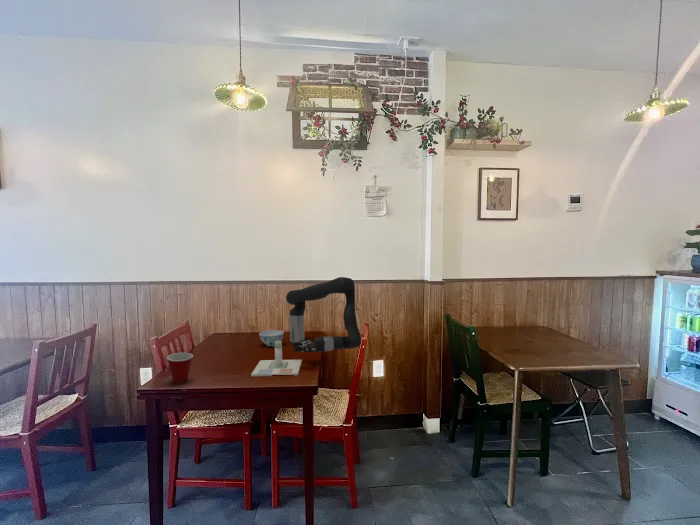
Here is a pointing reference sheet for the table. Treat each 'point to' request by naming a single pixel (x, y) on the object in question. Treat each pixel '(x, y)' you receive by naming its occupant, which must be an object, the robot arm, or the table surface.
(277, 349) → the marker
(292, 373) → the picture board
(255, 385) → the table surface
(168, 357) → the plastic cup
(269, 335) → the chinaware
